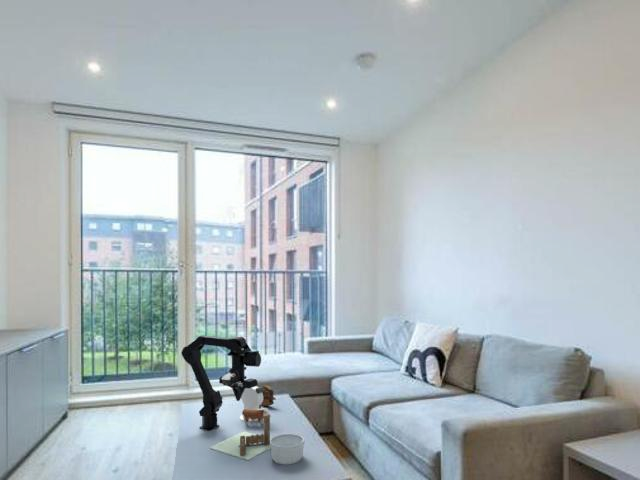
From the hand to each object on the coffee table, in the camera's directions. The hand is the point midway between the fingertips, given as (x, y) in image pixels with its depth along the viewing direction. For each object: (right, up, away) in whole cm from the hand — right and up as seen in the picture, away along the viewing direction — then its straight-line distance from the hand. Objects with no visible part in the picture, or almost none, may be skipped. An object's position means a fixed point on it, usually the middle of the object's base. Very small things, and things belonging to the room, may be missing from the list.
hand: (238, 400), depth 187 cm
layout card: (+7, -12, -17) cm, 22 cm away
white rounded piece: (+4, -14, +16) cm, 22 cm away
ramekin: (+25, -11, -30) cm, 40 cm away
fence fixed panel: (+6, -11, -23) cm, 26 cm away
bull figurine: (+8, -14, +5) cm, 16 cm away
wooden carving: (+7, -16, +34) cm, 38 cm away
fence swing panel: (+12, -11, -17) cm, 23 cm away
